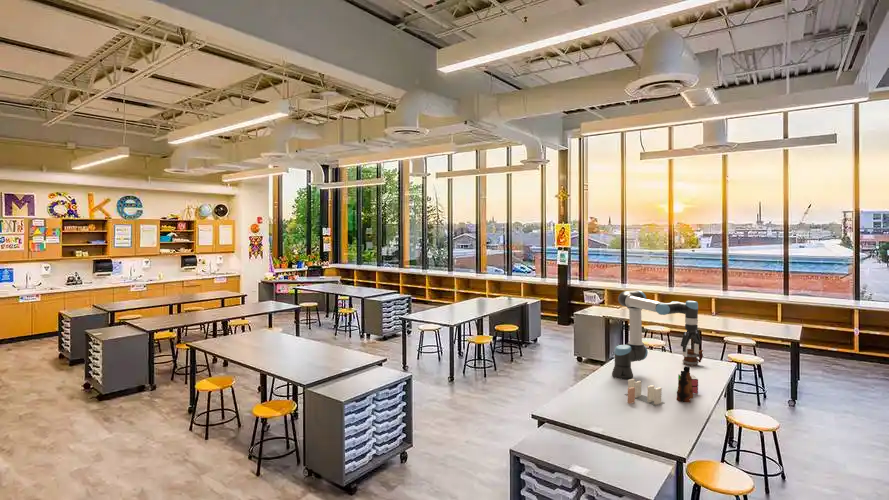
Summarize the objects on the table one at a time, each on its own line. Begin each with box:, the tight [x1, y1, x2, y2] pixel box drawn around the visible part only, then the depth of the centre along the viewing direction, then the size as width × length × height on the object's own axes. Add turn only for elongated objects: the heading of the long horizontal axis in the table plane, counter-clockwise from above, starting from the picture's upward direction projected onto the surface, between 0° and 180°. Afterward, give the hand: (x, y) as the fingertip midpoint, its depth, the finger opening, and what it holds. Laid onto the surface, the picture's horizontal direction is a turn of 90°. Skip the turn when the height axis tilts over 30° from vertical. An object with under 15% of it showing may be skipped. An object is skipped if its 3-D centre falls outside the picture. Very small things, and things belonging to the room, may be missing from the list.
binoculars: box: [675, 365, 694, 404], centre depth 311 cm, size 18×8×20 cm, turn 143°
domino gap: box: [626, 387, 636, 405], centre depth 304 cm, size 2×5×10 cm, turn 120°
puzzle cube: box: [677, 373, 699, 394], centre depth 326 cm, size 10×10×10 cm
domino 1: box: [627, 378, 636, 389], centre depth 319 cm, size 2×5×10 cm, turn 120°
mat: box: [624, 393, 665, 407], centre depth 311 cm, size 24×10×1 cm, turn 30°
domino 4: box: [654, 387, 663, 405], centre depth 302 cm, size 2×5×10 cm, turn 121°
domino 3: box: [646, 384, 656, 402], centre depth 306 cm, size 2×5×10 cm, turn 121°
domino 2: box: [634, 380, 642, 397], centre depth 315 cm, size 2×5×10 cm, turn 121°
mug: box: [682, 348, 704, 367], centre depth 389 cm, size 12×14×15 cm
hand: (690, 354), depth 320 cm, fingers open, 13 cm apart
